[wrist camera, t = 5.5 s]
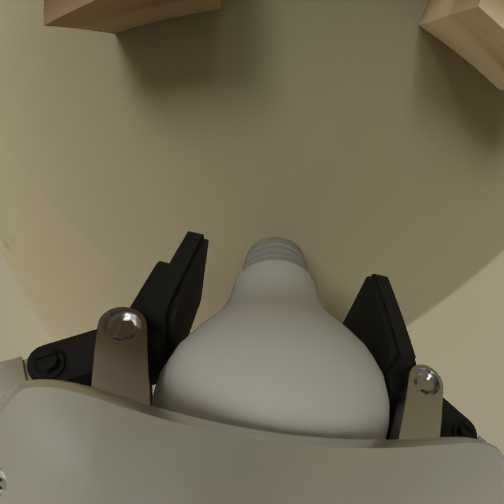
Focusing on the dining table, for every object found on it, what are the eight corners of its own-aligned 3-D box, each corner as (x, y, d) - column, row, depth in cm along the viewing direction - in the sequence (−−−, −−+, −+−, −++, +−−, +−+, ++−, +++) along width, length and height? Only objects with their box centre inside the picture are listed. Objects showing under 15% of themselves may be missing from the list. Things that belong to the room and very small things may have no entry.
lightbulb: (194, 197, 13) (64, 466, 3) (341, 182, 12) (455, 476, 3) (223, 306, 16) (181, 523, 7) (341, 297, 15) (374, 522, 6)
